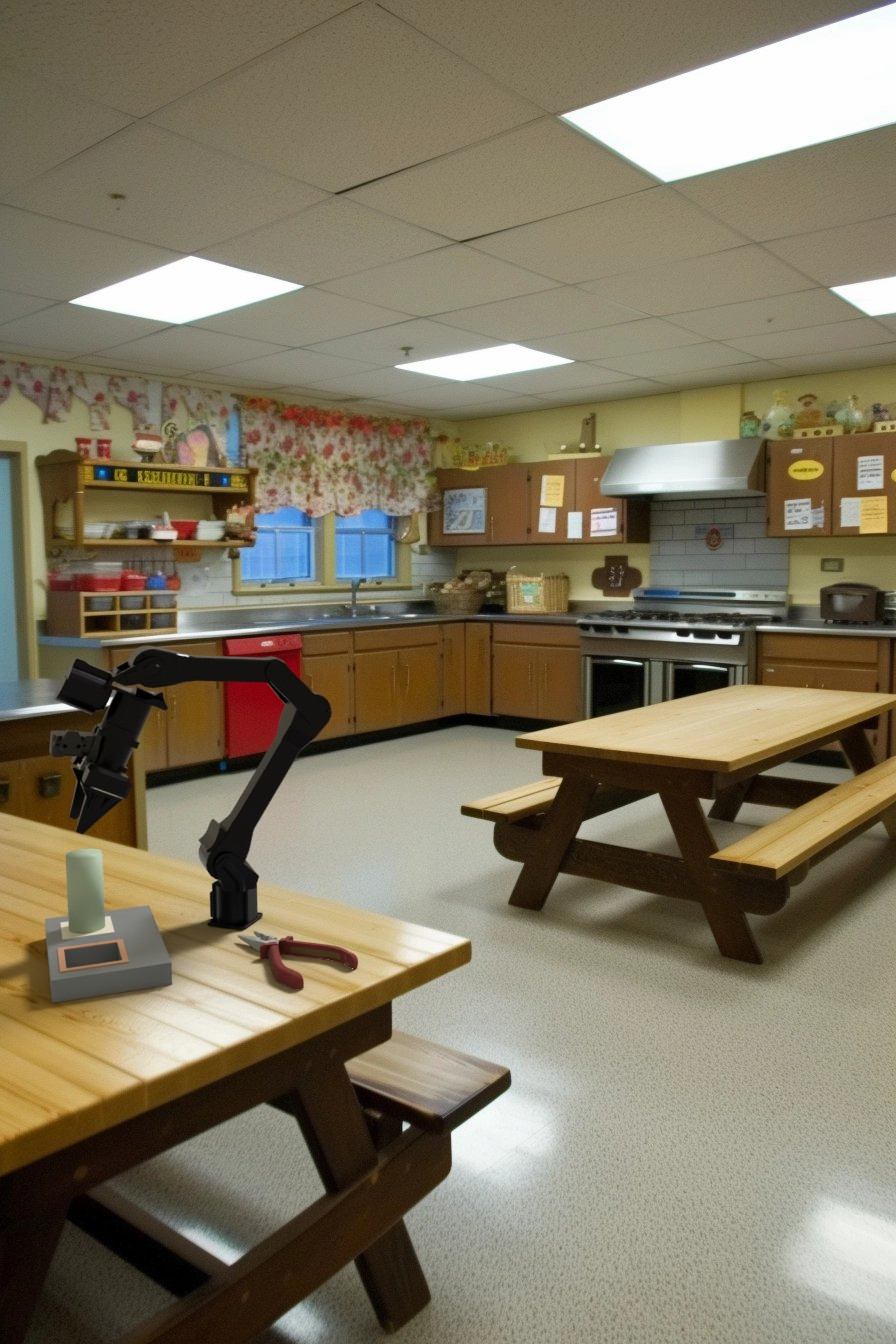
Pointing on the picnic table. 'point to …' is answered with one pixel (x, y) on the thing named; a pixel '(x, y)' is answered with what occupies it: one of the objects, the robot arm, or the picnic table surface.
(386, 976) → the picnic table surface
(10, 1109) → the picnic table surface
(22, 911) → the picnic table surface
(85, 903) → the post
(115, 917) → the slotted grey base
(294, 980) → the pliers
